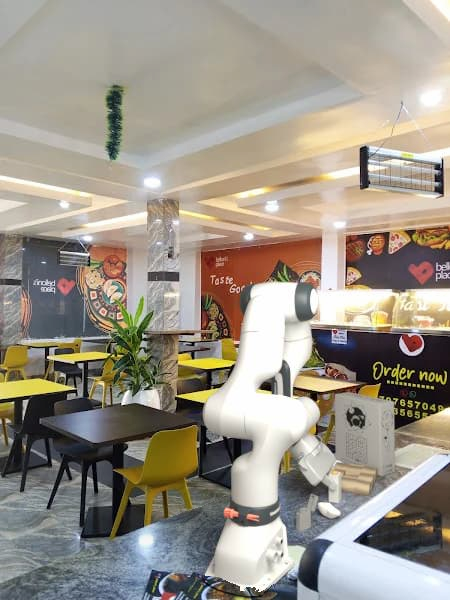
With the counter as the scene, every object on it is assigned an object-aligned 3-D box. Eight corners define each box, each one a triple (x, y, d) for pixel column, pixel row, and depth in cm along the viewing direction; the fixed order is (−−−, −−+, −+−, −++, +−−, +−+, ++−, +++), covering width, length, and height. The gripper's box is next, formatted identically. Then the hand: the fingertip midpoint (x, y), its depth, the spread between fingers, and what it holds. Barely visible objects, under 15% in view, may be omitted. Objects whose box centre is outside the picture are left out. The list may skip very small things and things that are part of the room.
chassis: (369, 496, 146) (369, 486, 146) (324, 488, 152) (324, 479, 152) (377, 476, 162) (377, 467, 162) (336, 470, 169) (336, 462, 169)
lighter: (300, 531, 124) (299, 501, 124) (295, 529, 126) (295, 499, 126) (319, 524, 128) (318, 494, 129) (314, 521, 130) (313, 492, 130)
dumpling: (313, 516, 133) (313, 502, 133) (323, 510, 137) (323, 496, 137) (334, 524, 128) (334, 509, 128) (345, 517, 132) (344, 503, 132)
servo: (338, 503, 141) (338, 473, 141) (328, 501, 143) (328, 472, 143) (341, 498, 145) (341, 469, 145) (331, 496, 146) (331, 468, 146)
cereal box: (395, 472, 166) (394, 401, 166) (380, 476, 162) (379, 404, 162) (349, 455, 184) (348, 391, 184) (335, 459, 180) (334, 394, 180)
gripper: (302, 452, 138) (336, 491, 133) (320, 434, 156) (350, 468, 152) (288, 465, 139) (321, 504, 135) (307, 446, 158) (337, 479, 154)
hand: (337, 485), depth 144 cm, fingers closed on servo, 4 cm apart
